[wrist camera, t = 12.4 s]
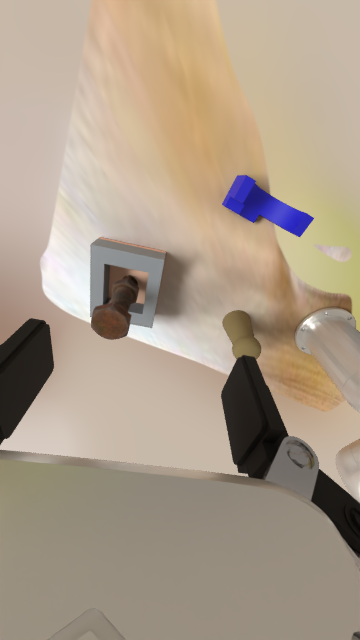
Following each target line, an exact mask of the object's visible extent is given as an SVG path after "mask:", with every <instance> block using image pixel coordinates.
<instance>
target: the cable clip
mask: <svg viewBox="0 0 360 640" xmlns="http://www.w3.org/2000/svg"><path fill="white" fill-rule="evenodd" d="M255 182H256V181H255V180H253V179H252V178H250V177H248V176H247V175H240V176H237V177H236V179H235V181H234V183H233V185H232V187H231V188H230V190H229V192H228V194H227V196H226V198H225V200H224V202H223V203H222V205H224V206H225V207H227V208H229V209H230V210H232V211H234V212H235V213H237V214H239V215H241V216H242V217H244V218H246V219H248V220H249V221H251V222H253V223H254V222H255V220H256V219H257V217H258V216H259V215H261V216H263V217H264V218H266V219H268V220H269V221H271V222H273V223H274V224H276V225H278V226H280V227H281V228H283V229H285V230H286V231H288V232H290V233H292V234H295V235H296V236H298V237H300V236H301V235H302V234H303V232H304V231H305V230H306V228H307V227H308V226H309V224H310V223H311V222H312V220H313V219H314V218H313V217H311V216H310V215H308V214H307V213H304V212H301V211H299V210H297V209H294V208H292V207H290V206H288V205H286V204H285V203H283V202H281V201H279V200H277V199H276V198H274V197H273V196H271V195H269V194H268V193H266V192H265V191H263V190H262V189H261V188H259V187H258V186H257V185H256V184H255Z"/></svg>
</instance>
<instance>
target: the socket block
mask: <svg viewBox="0 0 360 640" xmlns="http://www.w3.org/2000/svg"><path fill="white" fill-rule="evenodd" d="M165 255H166V251H161V250H157V249H152V248H147V247H143V246H138V245H134V244H129V243H125V242H120V241H115V240H111V239H106V238H102V237H100V238H98V239H97V240H96V241H94V242H93V243H92V244H91V277H90V317H92V313H93V310H94V308H95V307H96V306H100V305H104V304H108V303H109V301H110V300H111V298H112V289H113V284H114V282H115V281H118V280H121V279H123V277H124V276H128V275H131V276H133V277H134V278H135V279H136V280H137V283H138V287H139V292H138V297H137V301H136V303H134V304H131V305H130V308H129V310H128V313H130V314H131V315H132V316H131V321H130V324H133V325H138V326H144V327H150V328H152V326H153V320H154V315H155V310H156V304H157V299H158V293H159V288H160V282H161V277H162V272H163V266H164V261H165Z"/></svg>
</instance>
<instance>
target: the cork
mask: <svg viewBox="0 0 360 640" xmlns="http://www.w3.org/2000/svg"><path fill="white" fill-rule="evenodd" d="M223 327H224V329H225V331H226V333H227V335H228V336H229V338H230V340H231V342H232V344H233V346H232V351H233V354H234V356H235V358H236V359H238V357H241V356H242V355H247V356H253V357H255V359H257V358H258V357H259V355H260V353H261V345H260V343H259V341H258V340H257V339H255V338H254V334H253V330H252V326H251V321H250V318H249V315H248V314H247V313H246V312H243V311H239V310H237V311H232V312H230V313H228V314H227V315H226V316H225V317H224V319H223Z"/></svg>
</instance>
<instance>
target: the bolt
mask: <svg viewBox="0 0 360 640" xmlns="http://www.w3.org/2000/svg"><path fill="white" fill-rule="evenodd" d="M138 292H139V287H138V283H137V280H136V279H135V278H134V277H133V276H131V275H128V276H124V277H123V279H121V280H118V281H115V282H114V284H113V289H112V298H111V300H110V301H109V303H108V304H104V305H100V306H96V307H95V308H94V310H93V313H92V320H91V327H92V329H93V330H94V331H95V332H96V333H97V334H98V335H100V336H101V337H104V338H106V339H111V340H113V339H119V338H122V337H125V336H127V334H128V331H129V326H130V321H131V316H132V315H131V314H130V313H128V310H129V308H130V305H131V304H134V303H136V301H137V297H138Z"/></svg>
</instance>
